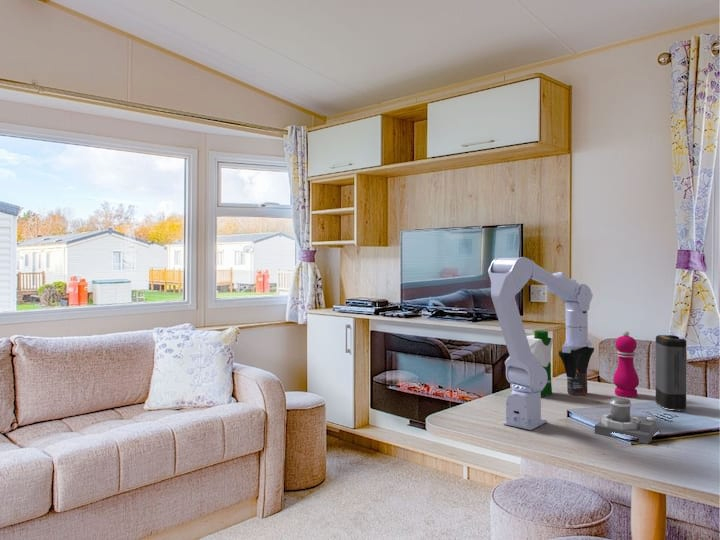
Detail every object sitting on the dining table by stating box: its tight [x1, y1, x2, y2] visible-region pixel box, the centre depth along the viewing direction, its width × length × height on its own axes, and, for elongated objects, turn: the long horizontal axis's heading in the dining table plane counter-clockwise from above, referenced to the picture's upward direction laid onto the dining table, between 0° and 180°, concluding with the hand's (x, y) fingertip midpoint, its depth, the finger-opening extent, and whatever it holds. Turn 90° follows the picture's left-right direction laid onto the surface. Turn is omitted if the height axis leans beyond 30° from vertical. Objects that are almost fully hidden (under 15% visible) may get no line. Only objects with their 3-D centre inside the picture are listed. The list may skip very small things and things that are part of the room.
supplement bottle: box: [566, 370, 588, 396], centre depth 174 cm, size 6×6×11 cm
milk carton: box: [526, 330, 554, 398], centre depth 175 cm, size 9×9×20 cm
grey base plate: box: [594, 413, 661, 445], centre depth 136 cm, size 10×12×4 cm
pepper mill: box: [612, 330, 640, 398], centre depth 172 cm, size 7×7×20 cm
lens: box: [609, 397, 632, 423], centre depth 137 cm, size 5×5×6 cm
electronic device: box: [655, 334, 687, 412], centre depth 158 cm, size 9×6×20 cm, turn 168°
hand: (576, 375), depth 154 cm, fingers open, 7 cm apart
